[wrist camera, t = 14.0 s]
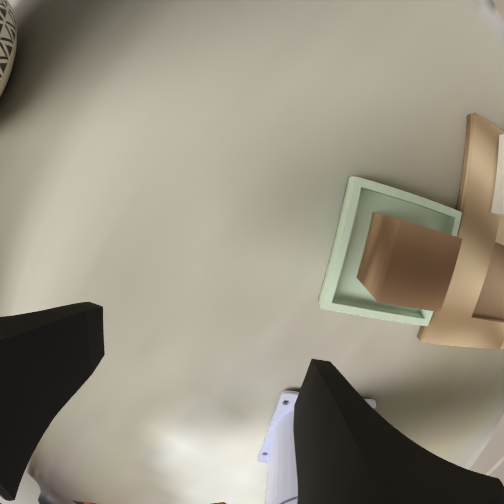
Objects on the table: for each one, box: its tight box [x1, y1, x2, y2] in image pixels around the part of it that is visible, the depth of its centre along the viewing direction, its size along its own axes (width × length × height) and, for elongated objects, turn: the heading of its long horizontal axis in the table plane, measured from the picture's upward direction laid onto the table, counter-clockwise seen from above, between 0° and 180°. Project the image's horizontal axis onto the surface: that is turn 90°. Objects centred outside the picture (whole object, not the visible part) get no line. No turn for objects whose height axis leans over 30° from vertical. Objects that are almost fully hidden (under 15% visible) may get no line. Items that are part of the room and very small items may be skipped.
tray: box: [318, 176, 462, 326], centre depth 17 cm, size 8×8×2 cm
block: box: [356, 212, 462, 312], centre depth 15 cm, size 4×4×4 cm
